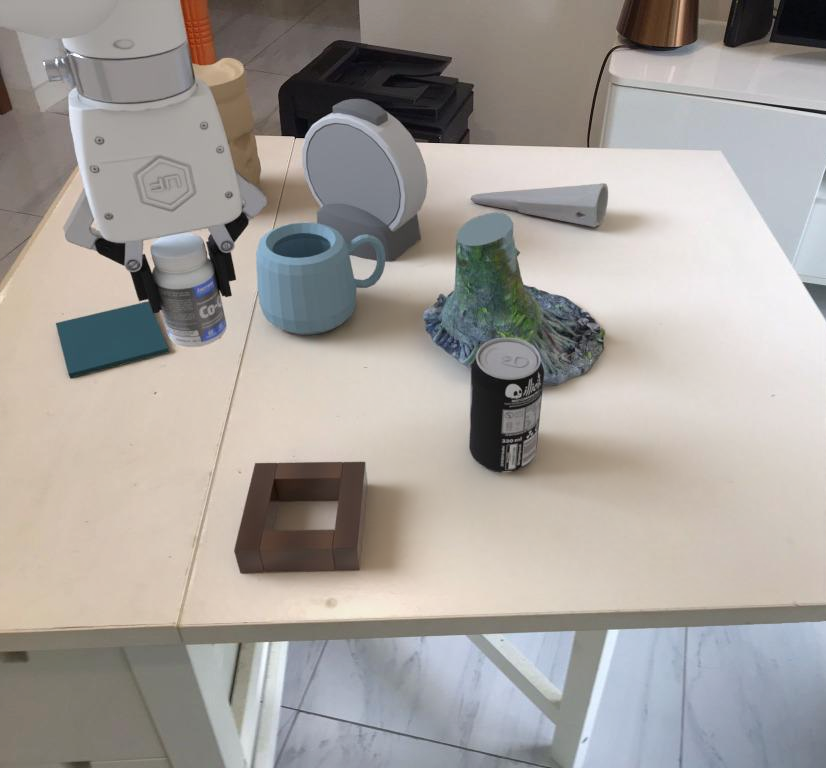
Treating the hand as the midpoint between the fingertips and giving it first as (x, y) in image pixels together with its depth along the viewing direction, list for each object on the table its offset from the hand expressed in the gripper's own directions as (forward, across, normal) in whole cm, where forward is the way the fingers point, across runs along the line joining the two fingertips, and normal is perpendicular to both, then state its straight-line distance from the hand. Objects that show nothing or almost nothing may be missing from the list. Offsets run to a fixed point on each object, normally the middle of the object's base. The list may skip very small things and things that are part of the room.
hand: (189, 294), depth 65 cm
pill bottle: (+4, 0, 0) cm, 4 cm away
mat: (+18, -7, +23) cm, 30 cm away
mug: (+18, +16, +18) cm, 30 cm away
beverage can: (+18, +24, -12) cm, 32 cm away
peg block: (+18, +4, -12) cm, 22 cm away
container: (+18, +12, +51) cm, 56 cm away
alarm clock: (+18, +27, +32) cm, 46 cm away
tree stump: (+18, +33, +4) cm, 38 cm away
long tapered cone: (+18, +52, +30) cm, 63 cm away
